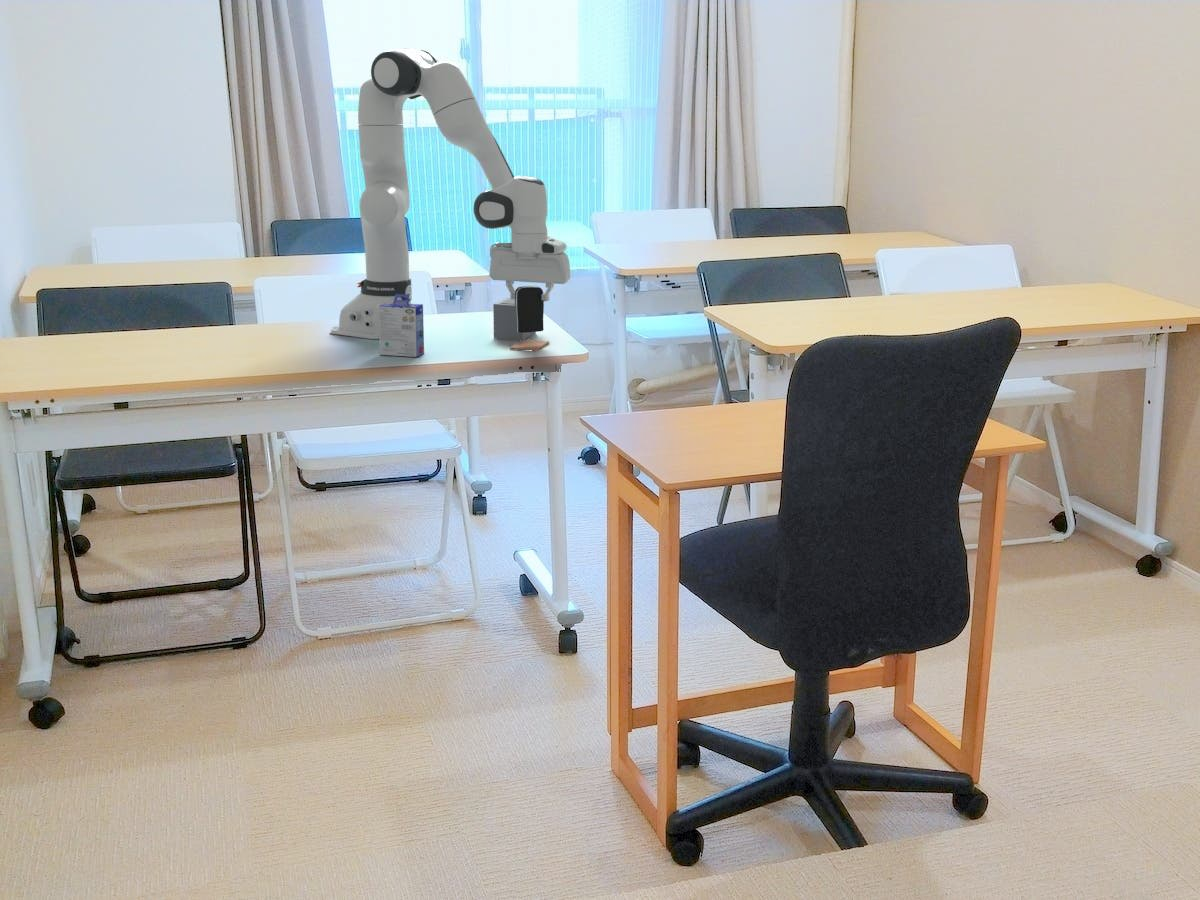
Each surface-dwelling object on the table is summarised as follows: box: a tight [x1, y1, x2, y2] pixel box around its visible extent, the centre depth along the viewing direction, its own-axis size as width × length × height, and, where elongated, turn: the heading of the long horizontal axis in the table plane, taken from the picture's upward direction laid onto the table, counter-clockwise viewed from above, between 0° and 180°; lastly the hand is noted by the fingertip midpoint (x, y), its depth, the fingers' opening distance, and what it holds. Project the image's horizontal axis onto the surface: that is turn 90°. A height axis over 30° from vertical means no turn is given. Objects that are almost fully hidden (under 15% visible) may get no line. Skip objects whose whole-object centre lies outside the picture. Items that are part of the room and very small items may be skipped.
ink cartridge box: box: [378, 294, 425, 358], centre depth 284 cm, size 10×6×14 cm, turn 79°
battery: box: [515, 285, 545, 333], centre depth 294 cm, size 7×4×11 cm, turn 109°
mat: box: [509, 339, 550, 352], centre depth 297 cm, size 7×10×1 cm
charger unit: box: [492, 297, 537, 341], centre depth 308 cm, size 8×10×9 cm
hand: (529, 299), depth 294 cm, fingers closed on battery, 7 cm apart
